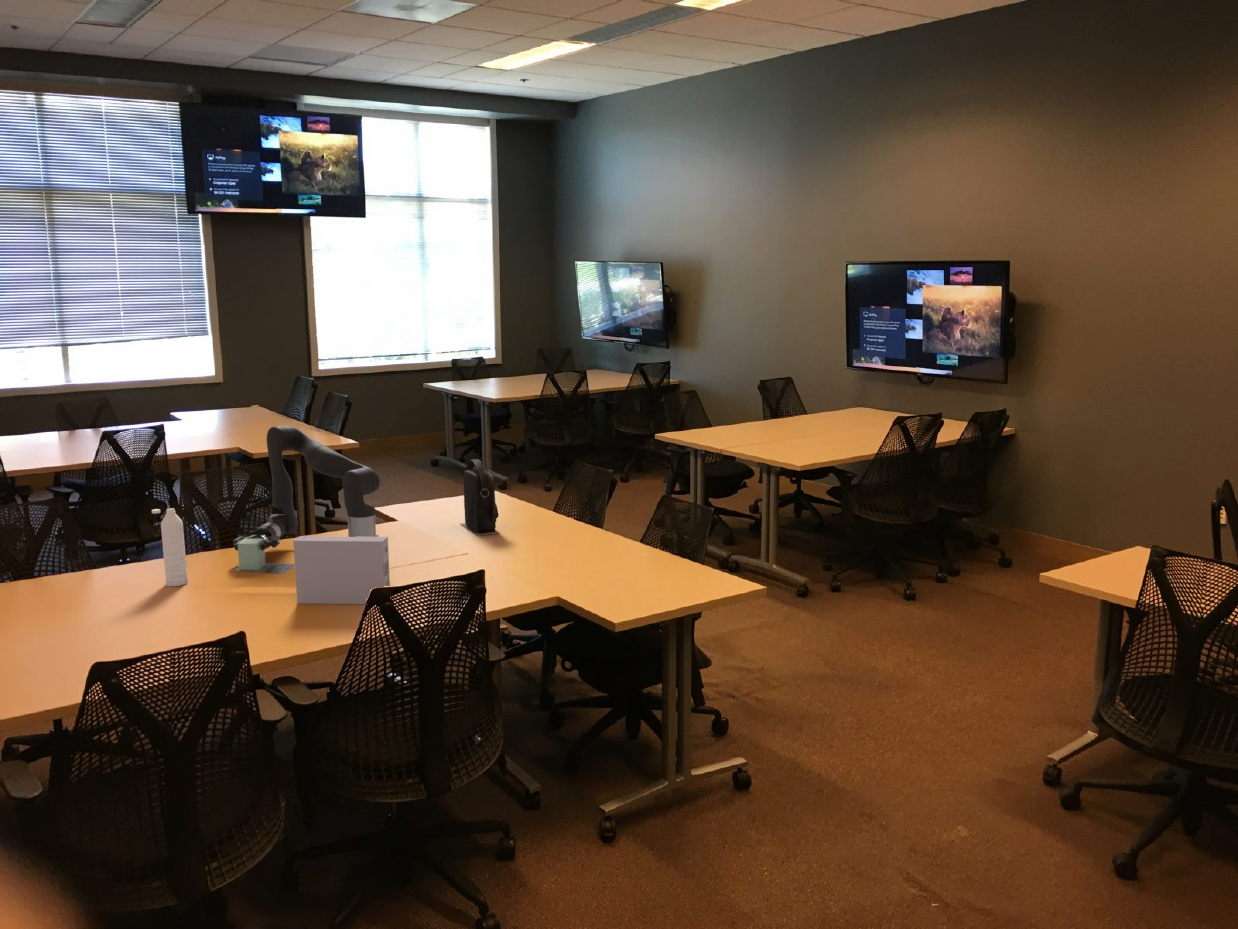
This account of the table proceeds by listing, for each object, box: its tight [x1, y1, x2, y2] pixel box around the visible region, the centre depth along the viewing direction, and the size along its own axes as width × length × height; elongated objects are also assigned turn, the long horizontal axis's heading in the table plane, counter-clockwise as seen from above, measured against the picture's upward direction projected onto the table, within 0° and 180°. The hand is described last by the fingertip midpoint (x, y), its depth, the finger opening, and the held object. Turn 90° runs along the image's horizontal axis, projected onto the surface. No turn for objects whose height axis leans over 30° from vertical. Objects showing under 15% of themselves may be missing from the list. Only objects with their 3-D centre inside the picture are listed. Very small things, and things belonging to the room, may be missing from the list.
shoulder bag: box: [459, 458, 501, 537], centre depth 389 cm, size 23×9×28 cm, turn 28°
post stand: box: [231, 562, 295, 575], centre depth 332 cm, size 18×11×8 cm, turn 80°
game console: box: [292, 535, 391, 605], centre depth 301 cm, size 6×27×20 cm, turn 88°
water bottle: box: [151, 507, 189, 587], centre depth 317 cm, size 9×6×25 cm
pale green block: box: [237, 539, 266, 570], centre depth 332 cm, size 6×6×9 cm
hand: (249, 547), depth 330 cm, fingers open, 8 cm apart
